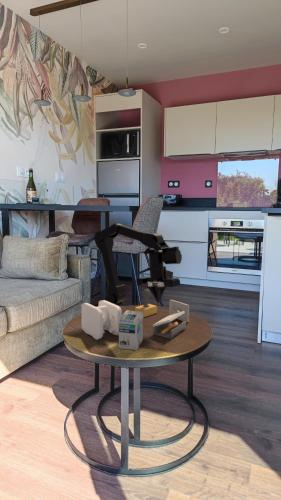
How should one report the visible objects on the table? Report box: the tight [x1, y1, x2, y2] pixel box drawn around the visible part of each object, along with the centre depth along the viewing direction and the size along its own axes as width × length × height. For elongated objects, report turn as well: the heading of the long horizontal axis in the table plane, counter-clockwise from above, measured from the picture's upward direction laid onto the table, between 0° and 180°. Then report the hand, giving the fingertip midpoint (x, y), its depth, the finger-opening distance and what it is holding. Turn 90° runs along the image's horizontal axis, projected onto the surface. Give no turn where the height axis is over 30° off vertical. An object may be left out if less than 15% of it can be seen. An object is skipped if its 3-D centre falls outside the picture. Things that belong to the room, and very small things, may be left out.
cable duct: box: [152, 321, 187, 340], centre depth 133 cm, size 8×14×3 cm, turn 150°
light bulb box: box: [118, 310, 144, 351], centre depth 118 cm, size 11×7×11 cm, turn 168°
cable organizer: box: [81, 299, 123, 341], centre depth 128 cm, size 15×11×12 cm
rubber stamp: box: [134, 288, 158, 318], centre depth 155 cm, size 10×6×12 cm, turn 139°
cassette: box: [168, 299, 190, 323], centre depth 150 cm, size 12×2×8 cm, turn 37°
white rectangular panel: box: [152, 311, 185, 327], centre depth 133 cm, size 8×14×1 cm, turn 151°
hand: (159, 302), depth 134 cm, fingers closed
